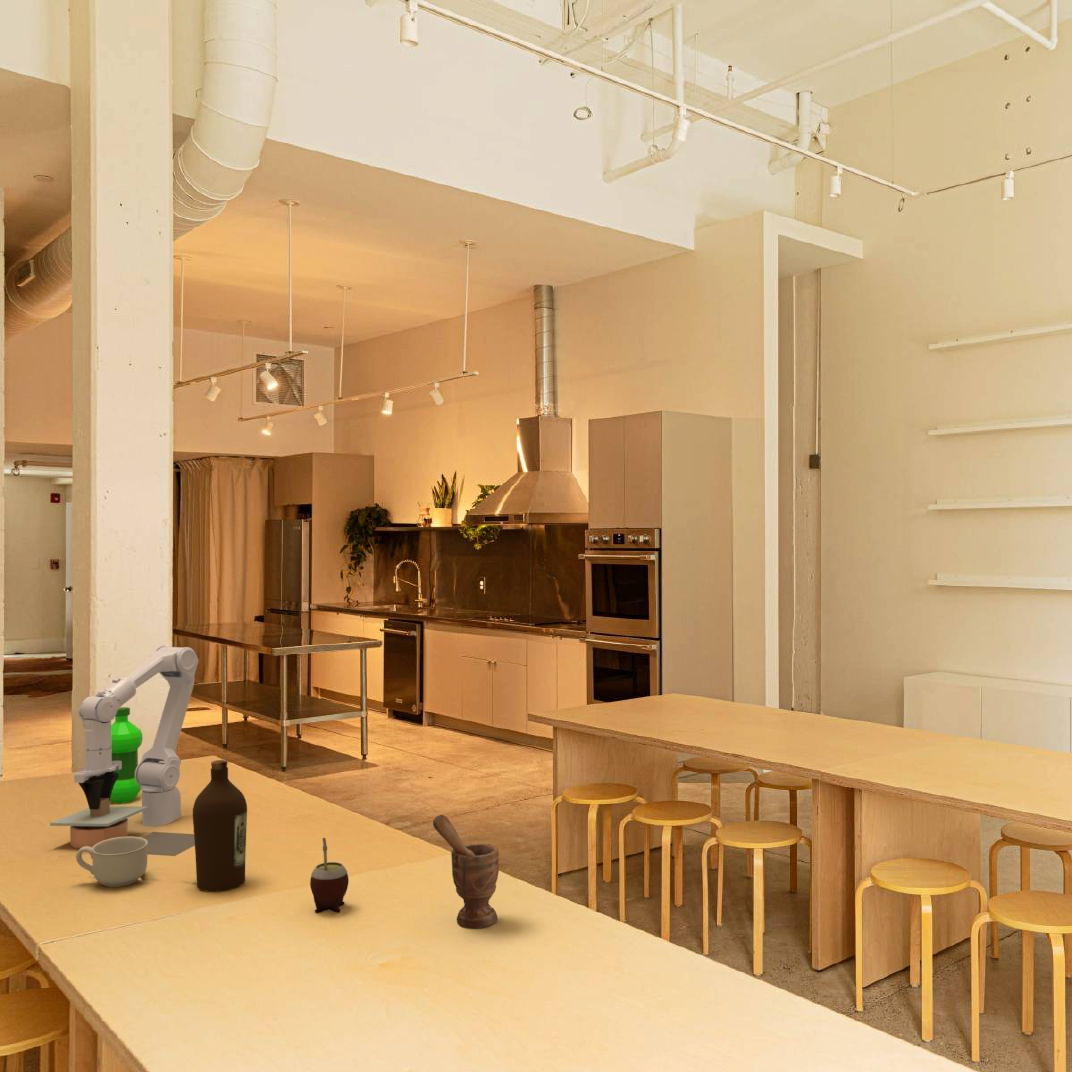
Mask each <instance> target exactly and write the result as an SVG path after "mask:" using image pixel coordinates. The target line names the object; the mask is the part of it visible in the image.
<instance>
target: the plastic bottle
mask: <svg viewBox="0 0 1072 1072" xmlns="http://www.w3.org/2000/svg"><path fill="white" fill-rule="evenodd" d="M130 715H131V707H128V706H127V707H124V706H121V707H120V708H119V709H118V710H117V713H116V716H115V717H114V720H115V721H114V722H113V723H111V747H112V761H122V769H120V770H114V771H113V773H119V777H118V779H117V780H116V782H115V784H114V787H113V790H112V793H111V797H110V801H111V802H112V803H114V804H124V803H125V804H126V803H130V802H133V800H134V799H135V798H136V797H137V796H138V795H139V793H140V792H141V791H142V790H141V789H140V785H138V784H137V782H136V781H135V770H136V767H137V766H138V764H139V763H138V762H139V760H138V759H139V756H138V754H139V753H138V752H139V751H138V749H139V748H140V747H141V745H142V743H143V733H142V730H141V729H140V728H139V727H138V726H136V724H134V723H132V722H131V721H129V716H130Z"/></svg>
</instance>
